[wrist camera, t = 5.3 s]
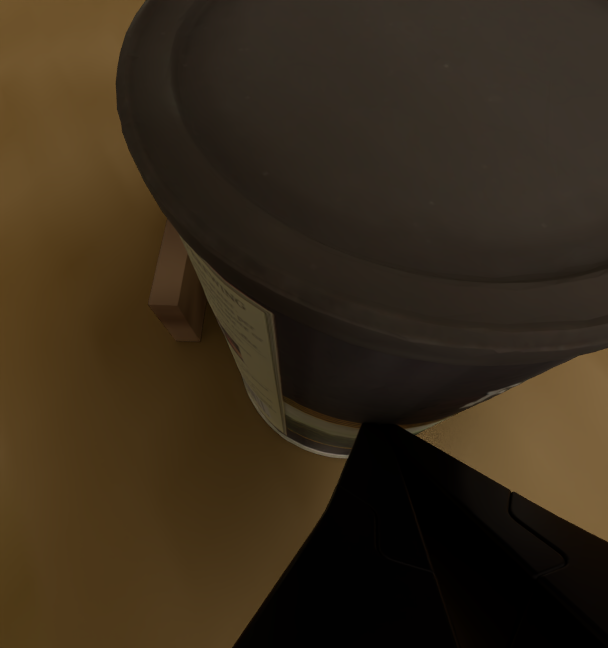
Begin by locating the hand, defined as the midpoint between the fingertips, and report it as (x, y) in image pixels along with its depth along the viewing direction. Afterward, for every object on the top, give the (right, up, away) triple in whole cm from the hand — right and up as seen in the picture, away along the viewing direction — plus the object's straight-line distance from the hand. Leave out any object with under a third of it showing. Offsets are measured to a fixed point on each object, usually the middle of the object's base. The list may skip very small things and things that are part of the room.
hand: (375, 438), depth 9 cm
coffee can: (0, +1, +10) cm, 10 cm away
